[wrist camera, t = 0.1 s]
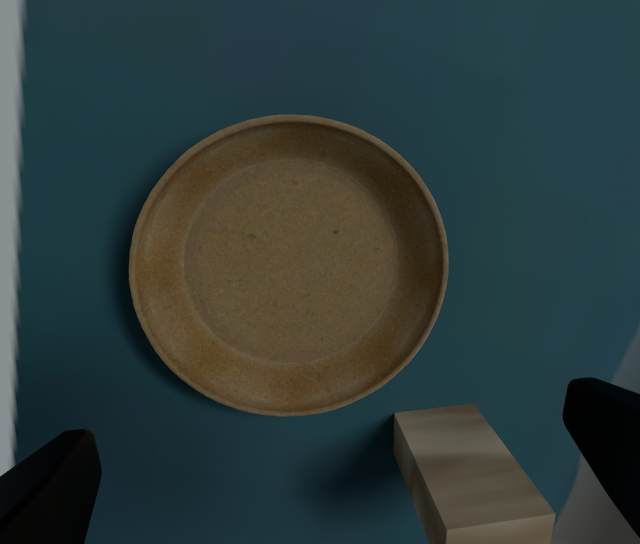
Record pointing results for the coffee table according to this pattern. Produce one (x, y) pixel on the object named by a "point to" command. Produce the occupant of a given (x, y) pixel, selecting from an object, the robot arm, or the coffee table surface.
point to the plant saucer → (288, 265)
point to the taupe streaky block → (467, 480)
